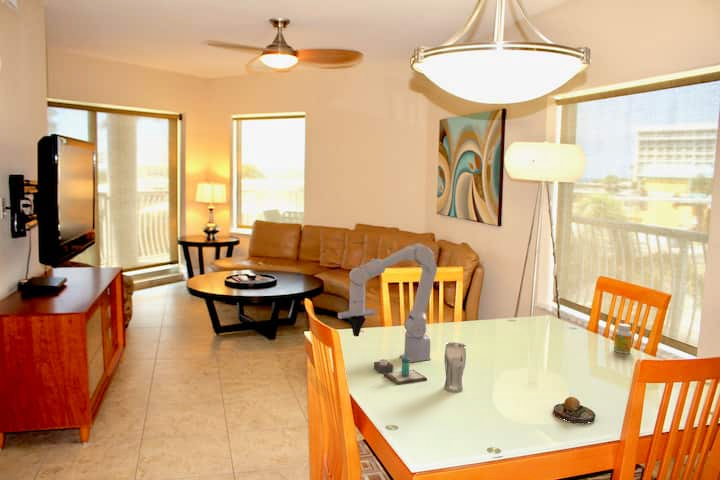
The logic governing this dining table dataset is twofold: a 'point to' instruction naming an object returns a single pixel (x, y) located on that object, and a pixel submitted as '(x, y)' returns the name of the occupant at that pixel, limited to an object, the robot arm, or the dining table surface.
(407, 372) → the marker
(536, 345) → the dining table surface
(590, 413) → the dark base with ball
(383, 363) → the button cap
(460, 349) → the beer glass
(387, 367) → the button box
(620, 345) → the supplement bottle
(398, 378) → the grey flat tray
